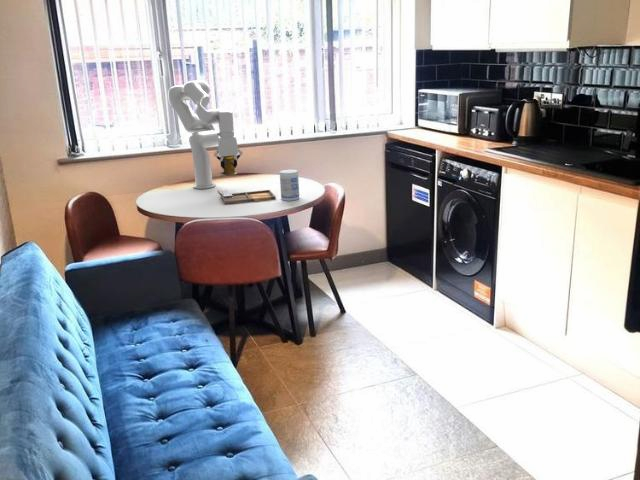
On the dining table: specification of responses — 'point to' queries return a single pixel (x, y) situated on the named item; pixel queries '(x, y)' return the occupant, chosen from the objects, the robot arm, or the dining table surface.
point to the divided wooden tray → (249, 197)
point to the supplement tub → (289, 185)
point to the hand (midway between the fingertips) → (229, 167)
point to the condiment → (228, 166)
